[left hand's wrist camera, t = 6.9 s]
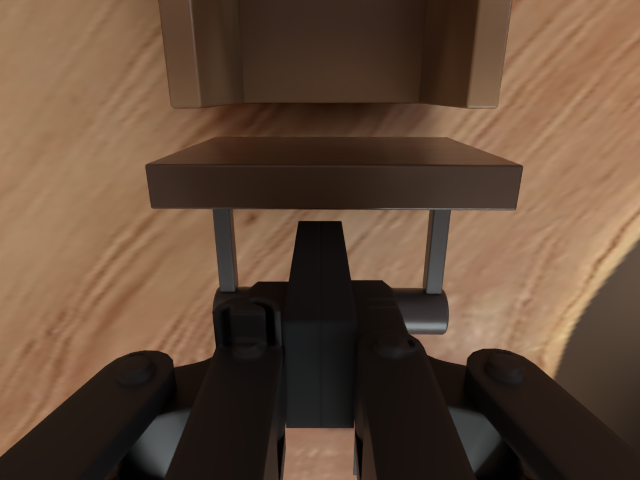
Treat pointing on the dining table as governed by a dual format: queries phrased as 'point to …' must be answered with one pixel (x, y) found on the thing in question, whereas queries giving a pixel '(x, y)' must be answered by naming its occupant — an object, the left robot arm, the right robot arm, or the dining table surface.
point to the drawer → (336, 87)
